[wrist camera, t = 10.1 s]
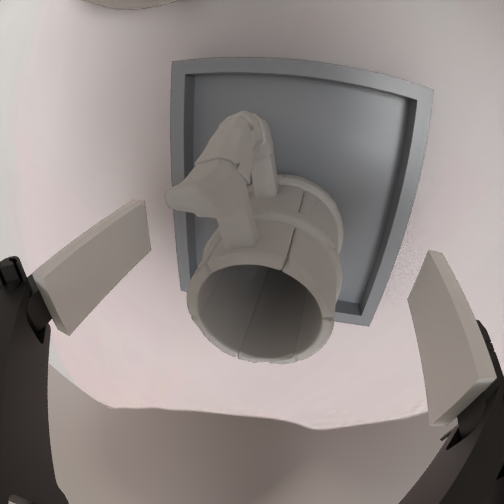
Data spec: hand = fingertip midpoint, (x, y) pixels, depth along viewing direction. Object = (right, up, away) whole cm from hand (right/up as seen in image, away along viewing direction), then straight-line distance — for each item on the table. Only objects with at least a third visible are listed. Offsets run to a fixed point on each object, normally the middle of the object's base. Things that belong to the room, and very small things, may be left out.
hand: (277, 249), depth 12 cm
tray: (+2, +4, +7) cm, 9 cm away
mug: (+1, +4, +7) cm, 8 cm away
